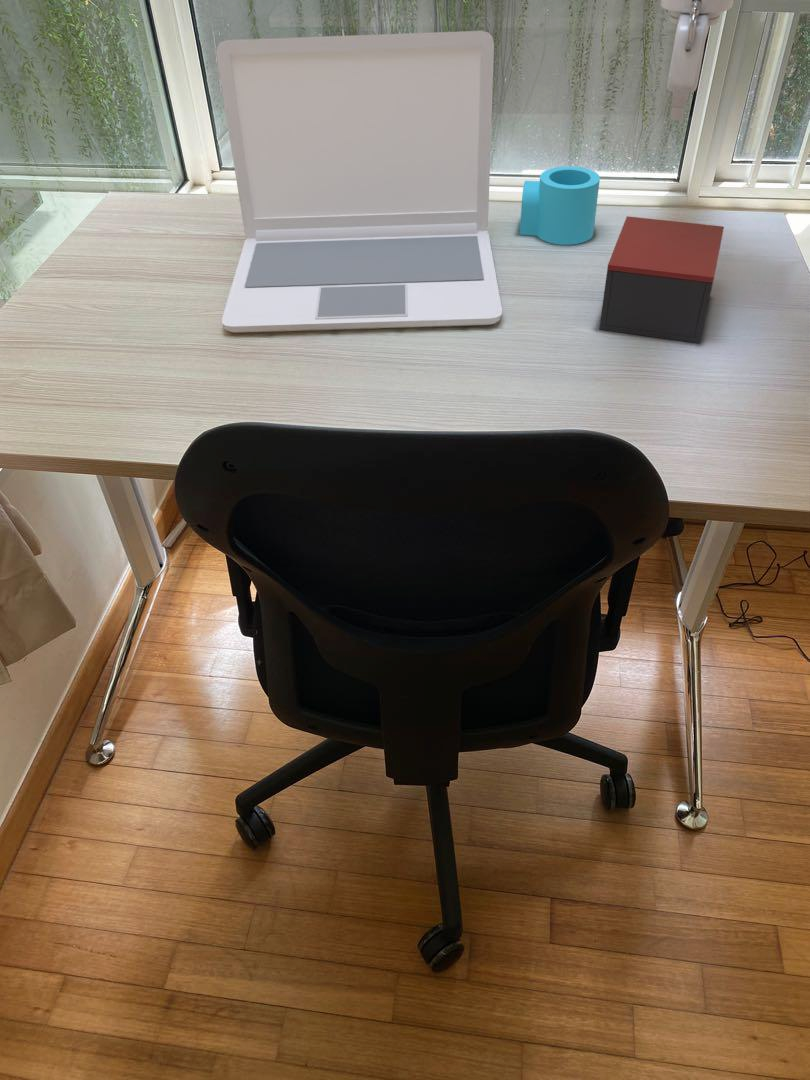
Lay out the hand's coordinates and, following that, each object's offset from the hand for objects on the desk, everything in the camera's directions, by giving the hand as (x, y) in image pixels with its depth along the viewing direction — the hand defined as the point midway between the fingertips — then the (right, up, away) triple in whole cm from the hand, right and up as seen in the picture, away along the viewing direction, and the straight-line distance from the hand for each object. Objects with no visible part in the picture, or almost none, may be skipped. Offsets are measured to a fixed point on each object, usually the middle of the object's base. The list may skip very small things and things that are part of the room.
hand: (678, 108), depth 119 cm
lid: (-1, -19, +1) cm, 19 cm away
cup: (-12, -8, +27) cm, 30 cm away
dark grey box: (-2, -26, +6) cm, 27 cm away
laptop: (-44, -19, +16) cm, 50 cm away
